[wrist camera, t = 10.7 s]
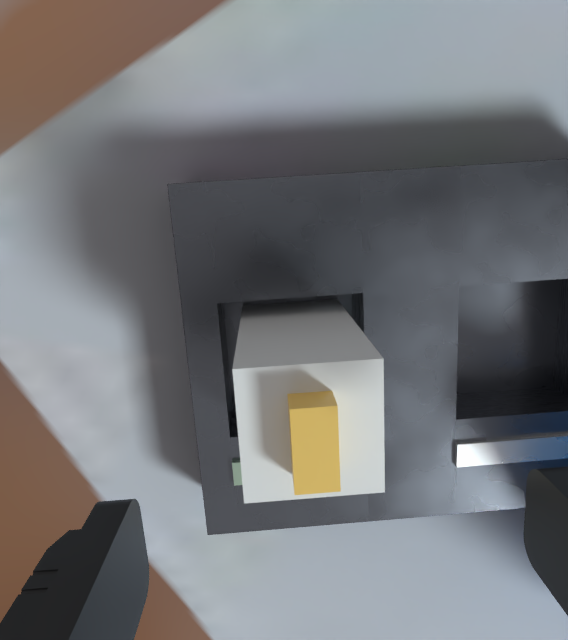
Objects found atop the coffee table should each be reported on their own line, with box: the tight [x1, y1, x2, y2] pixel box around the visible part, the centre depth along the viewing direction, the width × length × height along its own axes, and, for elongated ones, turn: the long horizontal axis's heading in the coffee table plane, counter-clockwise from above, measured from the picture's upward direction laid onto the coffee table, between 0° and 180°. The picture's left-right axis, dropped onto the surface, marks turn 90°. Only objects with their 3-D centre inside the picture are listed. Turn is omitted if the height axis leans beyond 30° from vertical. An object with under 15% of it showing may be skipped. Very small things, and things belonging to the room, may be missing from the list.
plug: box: [232, 299, 385, 504], centre depth 17 cm, size 4×4×9 cm
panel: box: [168, 159, 568, 535], centre depth 20 cm, size 17×14×3 cm
